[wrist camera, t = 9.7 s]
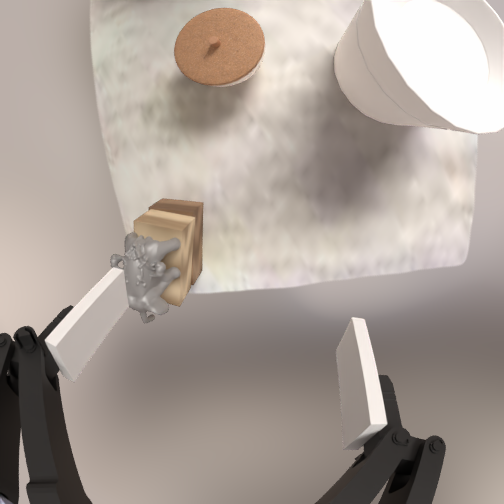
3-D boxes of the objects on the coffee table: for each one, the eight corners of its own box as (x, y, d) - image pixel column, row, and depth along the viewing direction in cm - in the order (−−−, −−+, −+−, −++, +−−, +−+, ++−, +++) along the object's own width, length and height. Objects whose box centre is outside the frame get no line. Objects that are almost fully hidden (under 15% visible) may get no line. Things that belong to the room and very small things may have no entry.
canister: (426, 139, 31) (515, 162, 14) (326, 107, 32) (361, 90, 15) (437, 48, 24) (517, 21, 6) (339, 12, 25) (370, -61, 7)
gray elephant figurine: (176, 219, 33) (145, 242, 26) (205, 302, 37) (185, 338, 30) (121, 233, 35) (87, 256, 28) (151, 306, 39) (127, 338, 32)
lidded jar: (238, 105, 34) (221, 100, 26) (181, 69, 32) (151, 58, 24) (285, 50, 29) (283, 29, 21) (224, 16, 27) (206, -10, 19)
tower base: (162, 198, 42) (148, 207, 37) (203, 202, 41) (192, 212, 37) (165, 263, 47) (153, 277, 43) (202, 269, 47) (193, 285, 42)
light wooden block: (150, 209, 38) (133, 221, 33) (195, 217, 37) (182, 230, 33) (151, 277, 43) (137, 294, 39) (190, 287, 43) (179, 306, 38)
